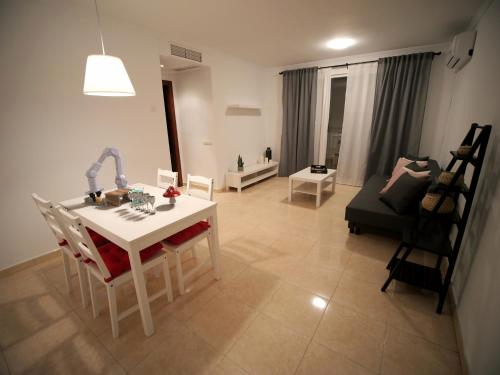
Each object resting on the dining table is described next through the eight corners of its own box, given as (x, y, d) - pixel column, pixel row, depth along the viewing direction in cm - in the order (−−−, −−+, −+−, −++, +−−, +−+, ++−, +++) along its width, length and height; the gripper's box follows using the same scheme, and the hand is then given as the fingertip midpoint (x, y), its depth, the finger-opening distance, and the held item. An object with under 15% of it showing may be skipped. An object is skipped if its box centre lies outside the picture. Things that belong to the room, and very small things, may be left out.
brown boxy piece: (124, 198, 199) (122, 188, 196) (136, 200, 194) (134, 189, 191) (106, 204, 184) (104, 193, 181) (118, 206, 178) (116, 195, 176)
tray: (92, 200, 194) (91, 194, 193) (107, 203, 188) (106, 196, 186) (85, 203, 189) (83, 196, 187) (100, 205, 182) (98, 199, 180)
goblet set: (158, 211, 168) (156, 194, 165) (152, 213, 163) (149, 196, 160) (134, 205, 181) (132, 189, 178) (127, 207, 176) (125, 191, 173)
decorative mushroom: (184, 203, 182) (182, 186, 178) (167, 208, 174) (165, 189, 170) (177, 199, 193) (175, 182, 189) (161, 203, 185) (159, 185, 181)
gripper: (98, 182, 191) (101, 197, 195) (80, 186, 178) (84, 203, 182) (104, 183, 189) (107, 198, 192) (86, 187, 176) (90, 204, 179)
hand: (96, 200), depth 187 cm, fingers closed on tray, 3 cm apart
